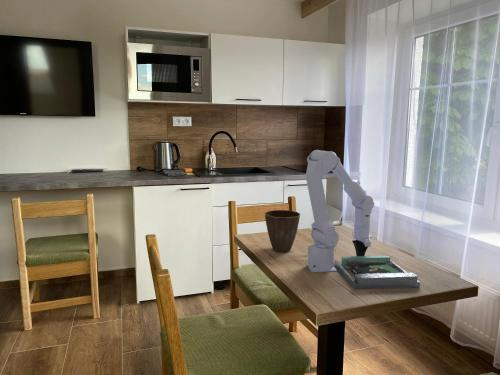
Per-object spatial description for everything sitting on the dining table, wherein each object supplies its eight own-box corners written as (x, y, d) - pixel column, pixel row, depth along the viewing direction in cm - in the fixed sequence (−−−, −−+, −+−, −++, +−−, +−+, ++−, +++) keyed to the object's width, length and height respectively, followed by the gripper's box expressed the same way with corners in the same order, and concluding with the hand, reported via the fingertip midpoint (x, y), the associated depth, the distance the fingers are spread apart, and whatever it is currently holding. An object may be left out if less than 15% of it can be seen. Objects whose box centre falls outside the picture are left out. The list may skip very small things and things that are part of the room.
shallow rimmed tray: (354, 289, 129) (355, 278, 129) (334, 265, 152) (334, 255, 151) (419, 287, 131) (420, 276, 131) (389, 263, 154) (390, 253, 153)
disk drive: (364, 284, 135) (403, 280, 138) (364, 276, 135) (403, 273, 138) (350, 273, 145) (387, 270, 148) (350, 266, 145) (387, 262, 148)
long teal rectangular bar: (343, 269, 147) (343, 258, 147) (341, 266, 150) (341, 256, 149) (390, 267, 149) (390, 257, 148) (387, 265, 151) (388, 255, 151)
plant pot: (261, 245, 176) (261, 210, 174) (293, 243, 179) (294, 209, 176) (269, 256, 162) (269, 218, 159) (303, 254, 164) (305, 216, 162)
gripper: (379, 229, 146) (377, 265, 148) (364, 220, 160) (363, 252, 162) (361, 230, 145) (359, 265, 148) (347, 220, 160) (346, 253, 162)
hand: (360, 259), depth 155 cm, fingers closed
